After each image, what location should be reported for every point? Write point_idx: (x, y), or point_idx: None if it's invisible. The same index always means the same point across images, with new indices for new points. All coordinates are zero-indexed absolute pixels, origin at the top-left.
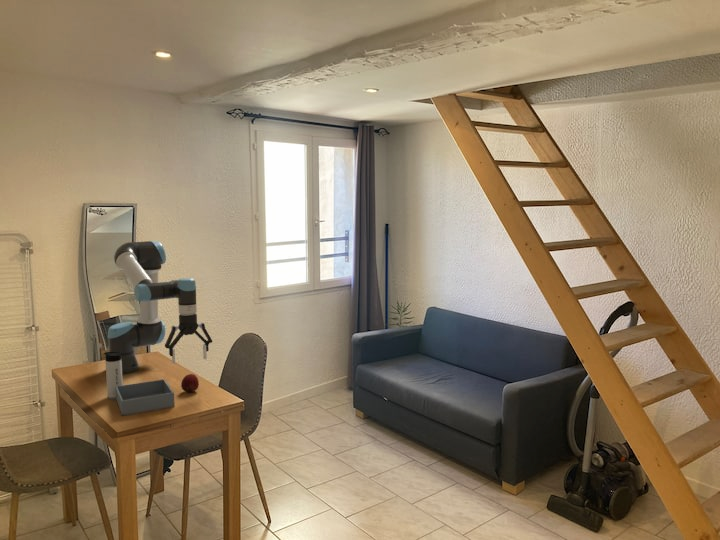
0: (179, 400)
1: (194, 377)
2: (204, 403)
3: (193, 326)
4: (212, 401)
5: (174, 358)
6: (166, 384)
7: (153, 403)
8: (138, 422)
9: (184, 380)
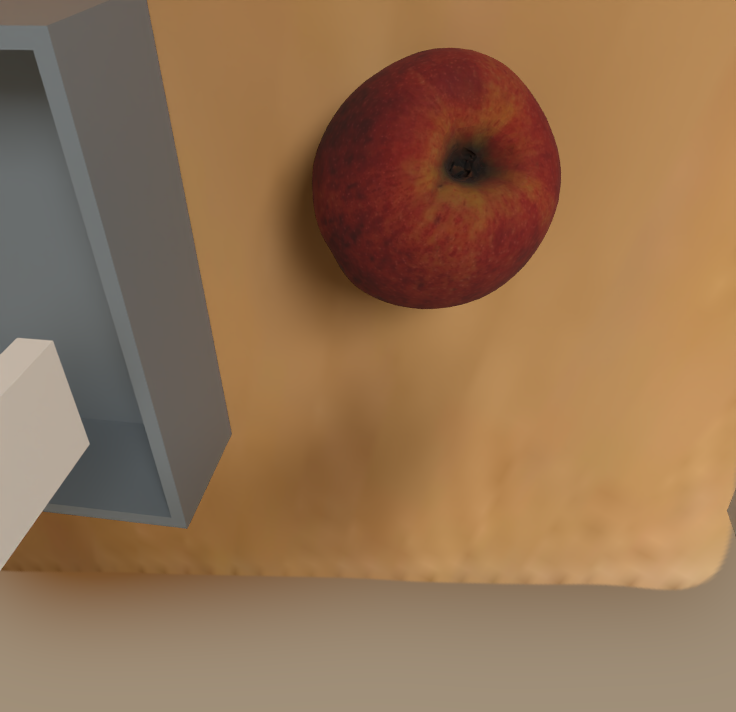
0: (285, 332)
1: (479, 289)
2: (466, 489)
3: None
4: (541, 487)
5: (17, 529)
6: (102, 280)
7: None
8: None
9: (336, 255)
